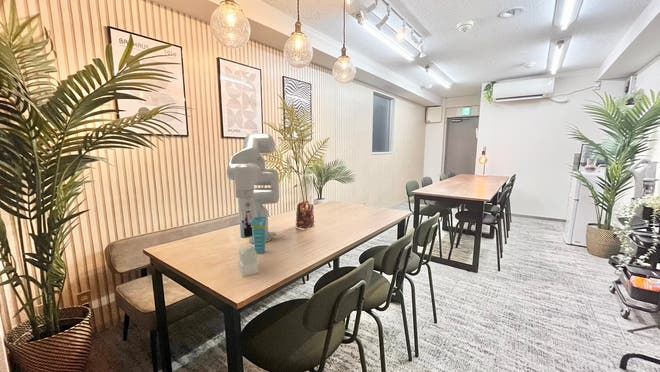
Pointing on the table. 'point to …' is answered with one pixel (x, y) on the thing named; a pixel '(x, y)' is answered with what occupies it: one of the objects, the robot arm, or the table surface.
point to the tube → (259, 234)
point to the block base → (248, 268)
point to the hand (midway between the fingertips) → (246, 234)
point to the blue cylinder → (243, 230)
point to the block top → (248, 255)
